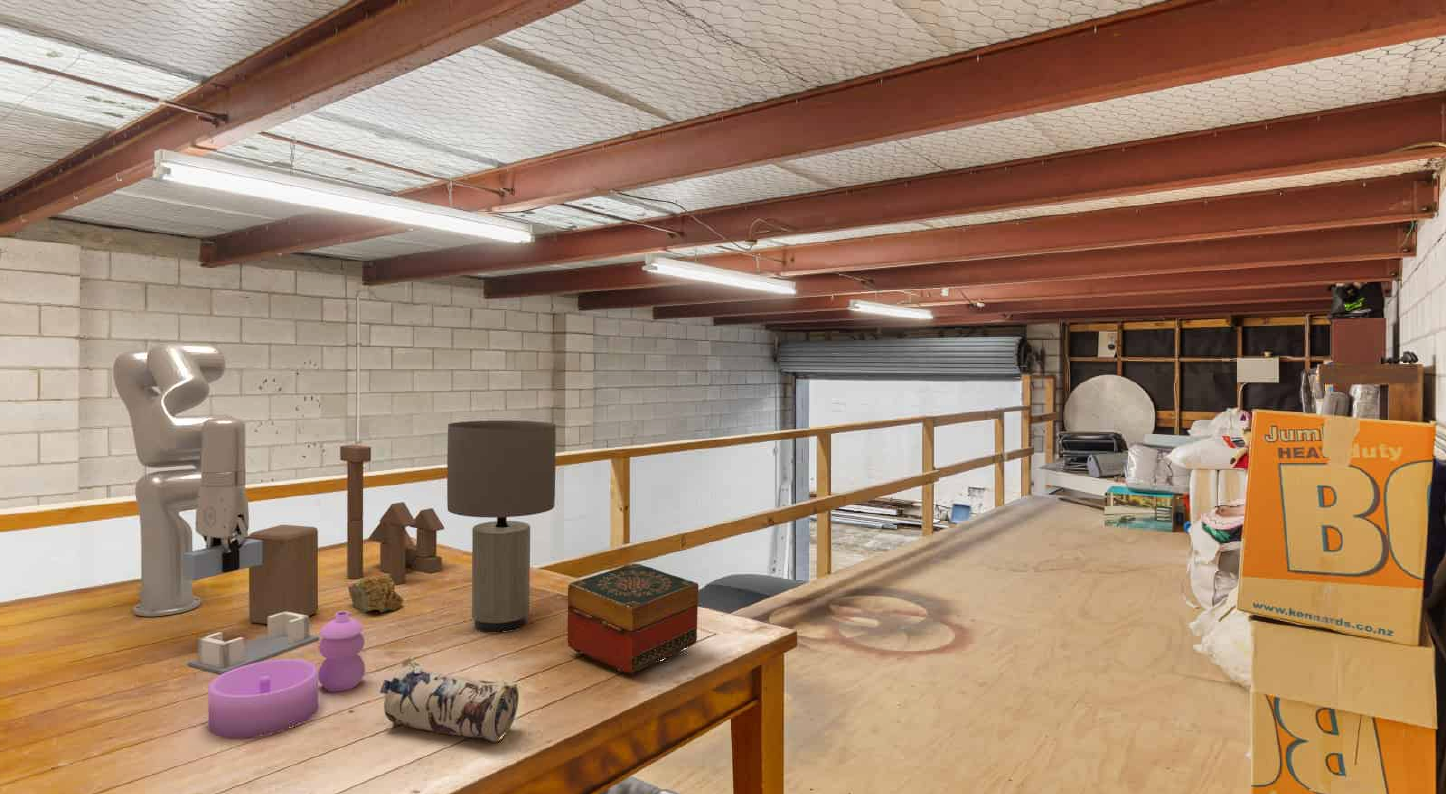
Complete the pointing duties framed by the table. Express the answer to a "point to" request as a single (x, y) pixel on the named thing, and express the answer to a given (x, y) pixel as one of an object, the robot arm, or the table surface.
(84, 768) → the table surface
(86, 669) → the table surface
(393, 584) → the rock
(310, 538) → the wooden block
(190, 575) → the blue-grey rectangular bar
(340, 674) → the container set
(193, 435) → the robot arm
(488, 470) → the lamp
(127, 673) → the table surface
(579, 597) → the decorative box
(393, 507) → the building blocks
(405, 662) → the pencil case
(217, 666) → the endcap board
